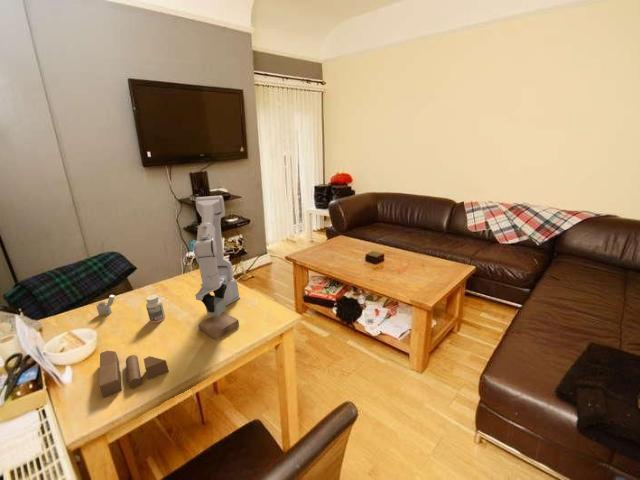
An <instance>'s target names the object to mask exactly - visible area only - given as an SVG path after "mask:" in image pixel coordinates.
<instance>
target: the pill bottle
mask: <svg viewBox="0 0 640 480" xmlns="http://www.w3.org/2000/svg"><path fill="white" fill-rule="evenodd" d="M145 300H146V305H145V307H146V311H147V315H148V319H149V322H150V323H151V324H156V323H157V324H158V323H161V322H162V321H163V320H165V318H166V314H165V311H164V306H163V302H162V300H160V298H159V296H158V294H151V295H148V296H147V297H146V298H145Z"/></svg>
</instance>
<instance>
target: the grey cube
mask: <svg viewBox="0 0 640 480" xmlns="http://www.w3.org/2000/svg"><path fill="white" fill-rule="evenodd" d="M205 308H206V307H205ZM205 310H206V315H209V316H219V315H220V314H221V313H222V312H225V311H226V306H225V303H224V299H223V298H217V297H215V298H214V312H213V313H212V312H208V310H207V308H206V309H205Z"/></svg>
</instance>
